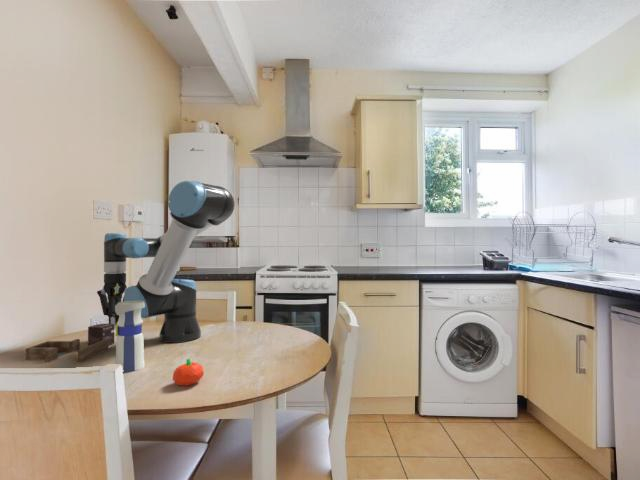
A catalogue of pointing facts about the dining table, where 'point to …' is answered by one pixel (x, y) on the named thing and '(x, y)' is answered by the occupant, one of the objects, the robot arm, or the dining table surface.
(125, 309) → the water bottle
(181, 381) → the tomato
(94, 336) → the box
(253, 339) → the dining table surface
